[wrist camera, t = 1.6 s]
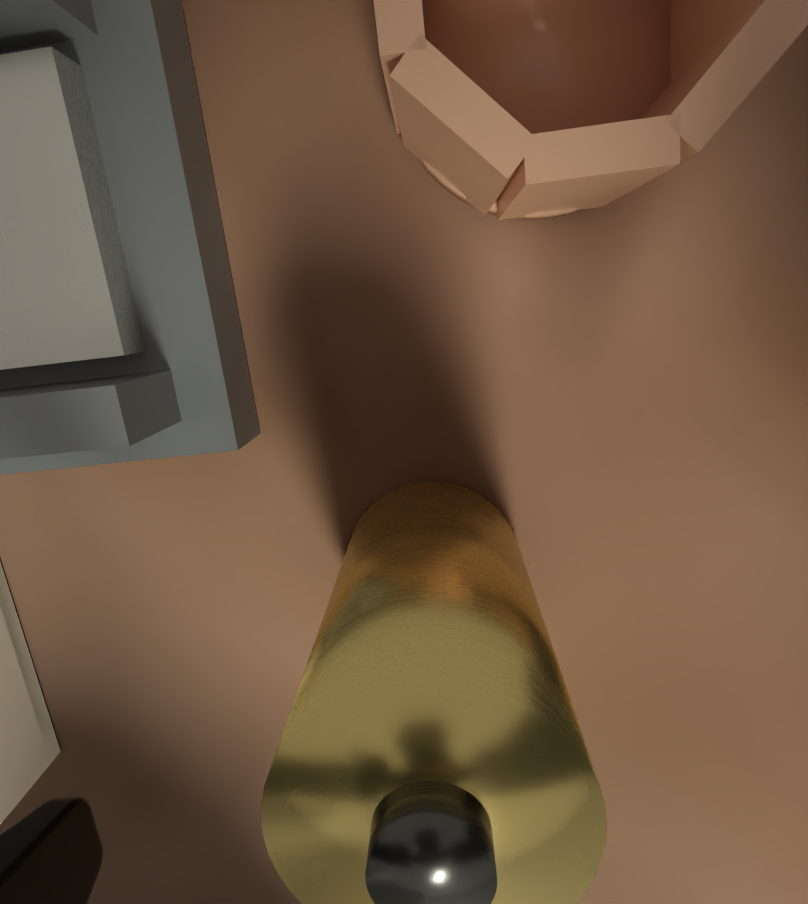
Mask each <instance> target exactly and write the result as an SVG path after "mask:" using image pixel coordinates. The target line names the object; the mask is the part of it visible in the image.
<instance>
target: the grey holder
mask: <svg viewBox="0 0 808 904" xmlns="http://www.w3.org/2000/svg"><path fill="white" fill-rule="evenodd" d="M45 47H53V48H54V49H56V50H57V51H59V52H60V53H62V54H63V55H65V56H66V57H68V58H70V59H71V60H73V61H74V62H76V63H77V64H79V65H80V66H82V70H83V75H84V79H85V83H86V88H87V92H88V97H89V101H90V105H91V110H92V114H93V119H94V123H95V128H96V132H97V136H98V141H99V145H100V150H101V154H102V159H103V163H104V167H105V172H106V176H107V181H108V185H109V190H110V194H111V198H112V203H113V207H114V212H115V216H116V221H117V225H118V229H119V234H120V238H121V243H122V247H123V252H124V256H125V260H126V265H127V269H128V274H129V278H130V283H131V287H132V291H133V296H134V300H135V305H136V309H137V313H138V318H139V322H140V327H141V331H142V336H143V340H144V344H145V349H146V351H145V352H140V353H134V354H129V355H122V356H114V357H105V358H97V359H88V360H80V361H71V362H63V363H54V364H45V365H37V366H28V367H20V368H11V369H3V370H0V474H10V473H20V472H29V471H39V470H49V469H59V468H69V467H79V466H88V465H98V464H108V463H118V462H128V461H138V460H147V459H157V458H167V457H177V456H187V455H196V454H206V453H216V452H226V451H236V450H239V449H240V448H242V447H243V446H244V445H246V444H247V443H248V442H249V441H251V440H252V439H253V438H255V437H256V436H257V435H259V434H260V429H259V424H258V418H257V413H256V407H255V402H254V396H253V391H252V385H251V380H250V375H249V369H248V364H247V358H246V353H245V347H244V342H243V336H242V331H241V325H240V320H239V314H238V309H237V304H236V298H235V293H234V287H233V282H232V276H231V271H230V265H229V260H228V254H227V249H226V243H225V238H224V233H223V227H222V222H221V216H220V211H219V205H218V200H217V194H216V189H215V183H214V178H213V172H212V167H211V162H210V156H209V151H208V145H207V140H206V134H205V129H204V123H203V118H202V112H201V107H200V101H199V96H198V91H197V85H196V80H195V74H194V69H193V63H192V58H191V52H190V47H189V41H188V36H187V30H186V25H185V20H184V14H183V9H182V3H181V0H0V55H2V54H8V53H15V52H21V51H27V50H33V49H39V48H45Z"/></svg>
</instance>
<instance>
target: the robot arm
mask: <svg viewBox="0 0 808 904" xmlns="http://www.w3.org/2000/svg"><path fill="white" fill-rule="evenodd" d="M102 856H103V848H102V843H101V839H100V836H99V833H98V830H97V827H96V823H95V820H94V817H93V814H92V811H91V807H90V805H89V802H88V801H87V800H86V799H85V798H83V797H63V798H54V799H51V800H49V801H47V802H45V803H44V804H42V805H41V806H40V807H38V808H37V809H35V810H34V811H33V812H31V813H30V814H28V815H27V816H26V817H24V818H23V819H22V820H20V821H19V822H17V823H16V824H15V825H13V826H12V827H10V828H9V829H8V830H6V831H5V832H3V833H2V834H1V835H0V904H87V902H88V899H89V896H90V894H91V891H92V889H93V886H94V883H95V881H96V878H97V876H98V873H99V870H100V867H101V863H102Z"/></svg>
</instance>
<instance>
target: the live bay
mask: <svg viewBox="0 0 808 904" xmlns="http://www.w3.org/2000/svg"><path fill="white" fill-rule="evenodd" d="M60 752H61V751H60V748H59V745H58V742H57V738H56V735H55V732H54V729H53V726H52V723H51V720H50V716H49V713H48V710H47V707H46V704H45V701H44V698H43V694H42V691H41V688H40V685H39V682H38V679H37V676H36V672H35V669H34V666H33V663H32V660H31V657H30V654H29V650H28V647H27V644H26V641H25V638H24V635H23V632H22V628H21V625H20V622H19V619H18V616H17V613H16V609H15V606H14V603H13V600H12V597H11V594H10V591H9V587H8V584H7V581H6V578H5V575H4V572H3V569H2V565H1V562H0V824H1V823H2V822H3V821H4V820H5V819H6V817H7V816H8V815H9V814H10V813H11V811H12V810H13V809H14V808H15V806H16V805H17V804H18V803H19V802H20V800H21V799H22V798H23V797H24V796H25V794H26V793H27V792H28V791H29V790H30V788H31V787H32V786H33V785H34V783H35V782H36V781H37V780H38V779H39V777H40V776H41V775H42V774H43V773H44V771H45V770H46V769H47V768H48V767H49V765H50V764H51V763H52V762H53V760H54V759H55V758H56V757H57V756H58V754H59V753H60Z"/></svg>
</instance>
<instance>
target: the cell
mask: <svg viewBox="0 0 808 904" xmlns="http://www.w3.org/2000/svg"><path fill="white" fill-rule="evenodd" d="M261 823H262V830H263V837H264V841H265V844H266V847H267V851H268V854H269V857H270V859H271V861H272V863H273V865H274V867H275V869H276V871H277V873H278V875H279V876H280V878H281V879H282V881H283V882H284V884H285V885H286V887H287V888H288V889H289V890H290V892H291V893H292V894H293V895H294V896H295V897H296V899H297V900H298V901H299V902H300V903H301V904H576V903H577V901H578V900H579V899H580V898H581V897H582V895H583V894H584V893H585V892H586V890H587V888H588V887H589V885H590V883H591V882H592V880H593V878H594V877H595V875H596V872H597V870H598V867H599V865H600V862H601V860H602V856H603V852H604V847H605V843H606V830H607V819H606V810H605V803H604V799H603V796H602V792H601V789H600V786H599V783H598V780H597V777H596V774H595V771H594V768H593V765H592V762H591V759H590V756H589V753H588V750H587V747H586V744H585V741H584V738H583V735H582V732H581V729H580V726H579V724H578V721H577V718H576V715H575V712H574V709H573V706H572V703H571V700H570V697H569V694H568V691H567V688H566V685H565V682H564V679H563V676H562V673H561V670H560V667H559V664H558V662H557V659H556V656H555V653H554V650H553V647H552V644H551V641H550V638H549V635H548V632H547V629H546V626H545V623H544V620H543V617H542V614H541V611H540V608H539V605H538V603H537V600H536V597H535V594H534V591H533V588H532V585H531V582H530V579H529V576H528V573H527V570H526V567H525V564H524V561H523V558H522V555H521V552H520V549H519V546H518V544H517V541H516V538H515V535H514V533H513V530H512V528H511V526H510V524H509V523H508V521H507V520H506V518H505V517H504V515H503V514H502V513H501V512H500V511H499V509H498V508H497V507H496V506H494V505H493V504H492V503H491V502H490V501H489V500H487V499H486V498H485V497H483V496H482V495H480V494H478V493H476V492H474V491H472V490H470V489H468V488H465V487H463V486H460V485H456V484H452V483H447V482H436V481H433V482H419V483H413V484H409V485H406V486H402V487H400V488H397V489H395V490H393V491H391V492H389V493H387V494H386V495H384V496H382V497H381V498H380V499H378V500H377V501H376V502H375V503H373V504H372V505H371V506H370V507H369V508H368V509H367V510H366V512H365V513H364V514H363V516H362V517H361V518H360V520H359V521H358V523H357V525H356V527H355V529H354V531H353V534H352V537H351V540H350V542H349V545H348V548H347V551H346V554H345V557H344V560H343V562H342V565H341V568H340V571H339V574H338V577H337V580H336V583H335V585H334V588H333V591H332V594H331V597H330V600H329V603H328V605H327V608H326V611H325V614H324V617H323V620H322V623H321V625H320V628H319V631H318V634H317V637H316V640H315V643H314V645H313V648H312V651H311V654H310V657H309V660H308V663H307V665H306V668H305V671H304V674H303V677H302V680H301V683H300V685H299V688H298V691H297V694H296V697H295V700H294V703H293V705H292V708H291V711H290V714H289V717H288V720H287V723H286V725H285V728H284V731H283V734H282V737H281V740H280V743H279V746H278V748H277V751H276V754H275V757H274V760H273V763H272V766H271V768H270V771H269V774H268V777H267V780H266V783H265V786H264V792H263V797H262V802H261Z"/></svg>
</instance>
